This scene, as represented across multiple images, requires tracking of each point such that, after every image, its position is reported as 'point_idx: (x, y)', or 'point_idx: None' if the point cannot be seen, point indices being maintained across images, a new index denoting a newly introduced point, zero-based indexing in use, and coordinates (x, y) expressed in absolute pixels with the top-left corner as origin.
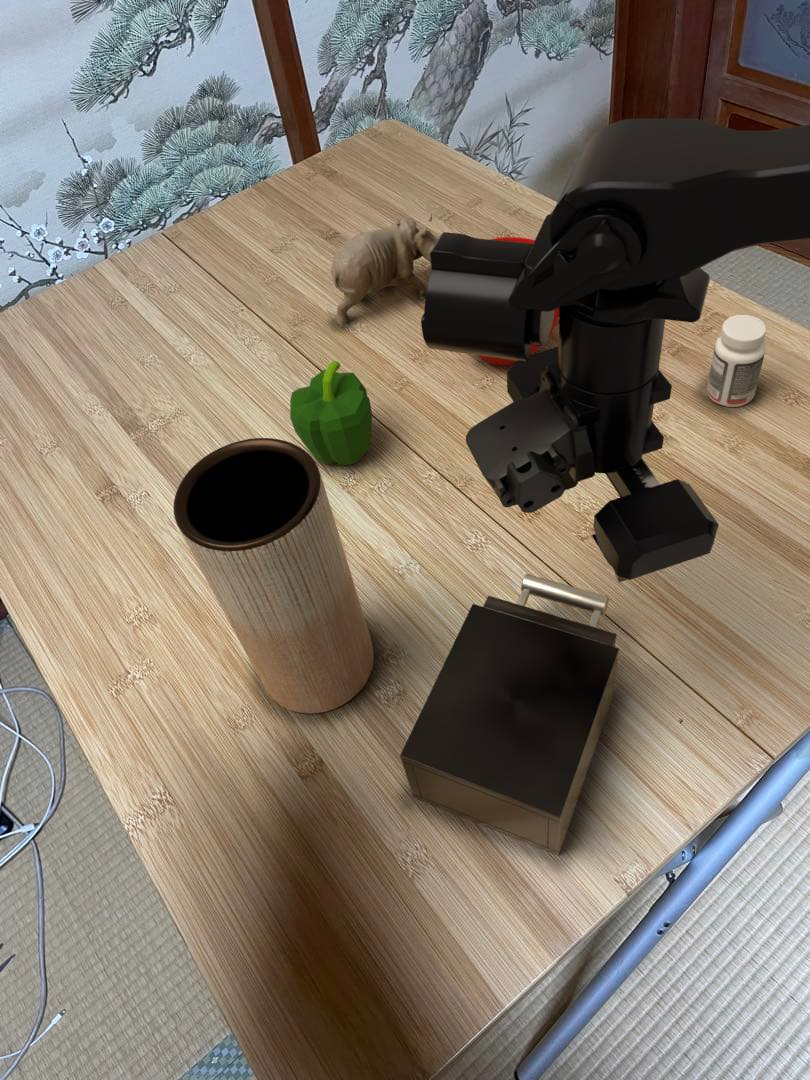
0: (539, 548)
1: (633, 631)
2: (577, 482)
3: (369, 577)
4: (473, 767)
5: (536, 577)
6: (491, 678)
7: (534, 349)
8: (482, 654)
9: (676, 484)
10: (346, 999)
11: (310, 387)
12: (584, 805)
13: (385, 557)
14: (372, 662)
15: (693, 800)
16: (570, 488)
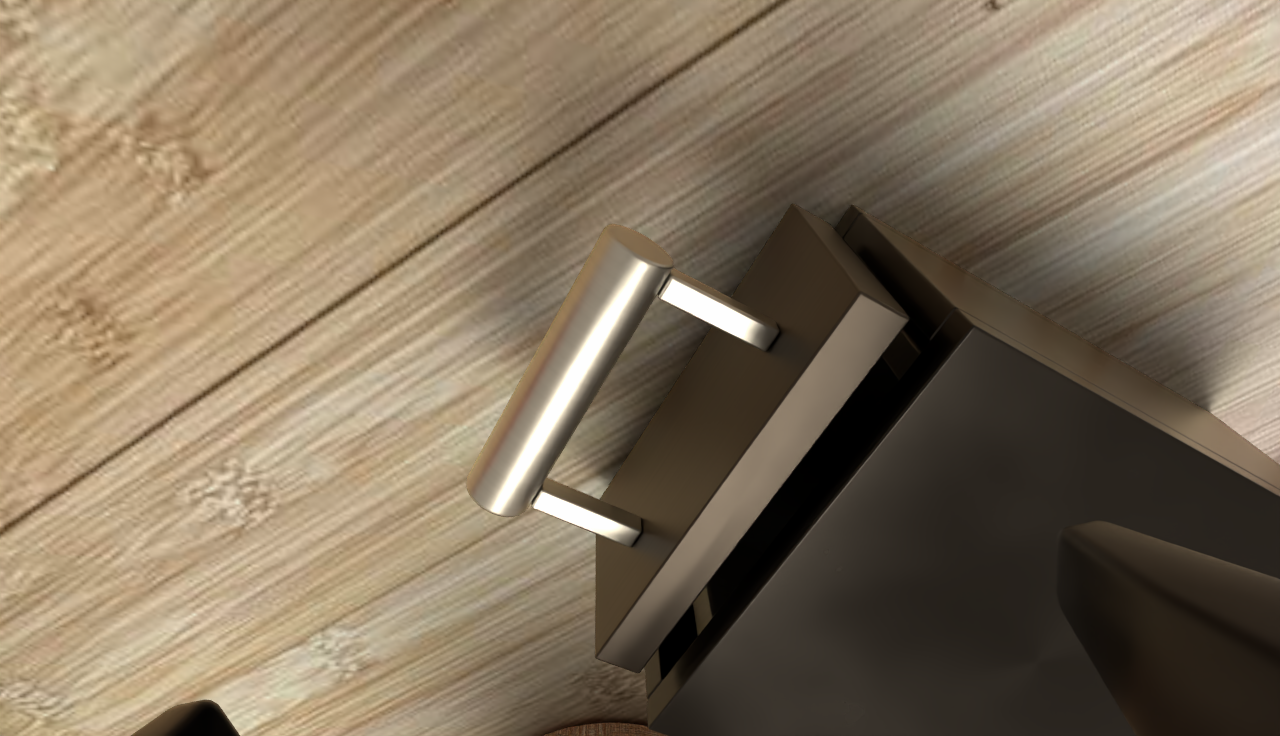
0: (253, 323)
1: (626, 78)
2: (189, 725)
3: (370, 724)
4: None
5: (494, 474)
6: (940, 702)
7: None
8: (850, 718)
9: None
10: None
11: None
12: (1124, 337)
13: (303, 695)
14: (632, 731)
15: (1240, 42)
16: (231, 724)
